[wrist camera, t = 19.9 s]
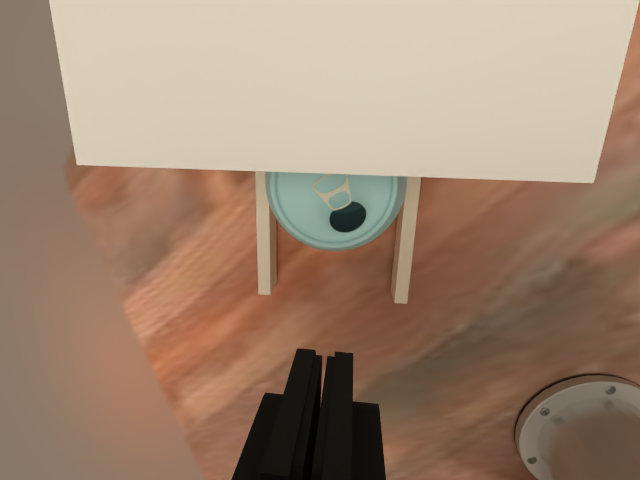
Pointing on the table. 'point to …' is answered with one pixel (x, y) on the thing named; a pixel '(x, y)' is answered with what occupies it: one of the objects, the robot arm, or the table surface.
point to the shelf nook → (344, 91)
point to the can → (334, 206)
